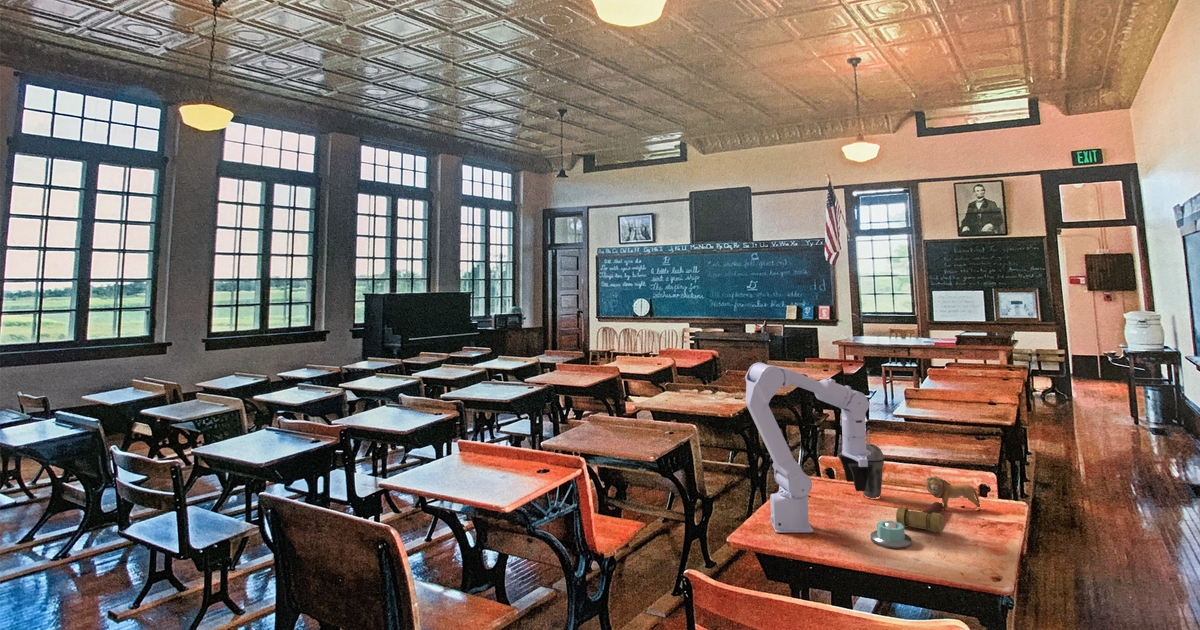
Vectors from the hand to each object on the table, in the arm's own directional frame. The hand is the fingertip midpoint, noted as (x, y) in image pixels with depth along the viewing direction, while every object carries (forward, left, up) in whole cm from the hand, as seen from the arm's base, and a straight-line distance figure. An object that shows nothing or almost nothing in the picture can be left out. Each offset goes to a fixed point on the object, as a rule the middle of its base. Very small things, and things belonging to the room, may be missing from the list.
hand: (855, 485), depth 159 cm
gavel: (+19, 0, -9) cm, 21 cm away
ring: (+4, -13, -8) cm, 16 cm away
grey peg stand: (+4, -13, -9) cm, 17 cm away
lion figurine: (+28, +7, -9) cm, 30 cm away
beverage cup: (+10, +18, -10) cm, 23 cm away
